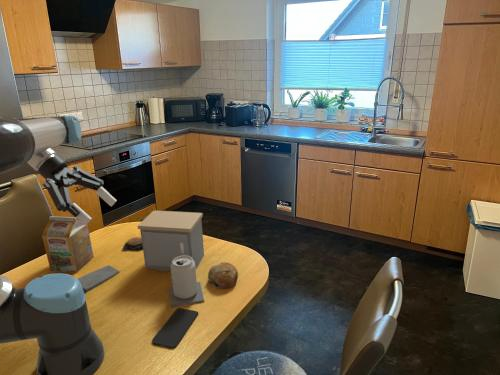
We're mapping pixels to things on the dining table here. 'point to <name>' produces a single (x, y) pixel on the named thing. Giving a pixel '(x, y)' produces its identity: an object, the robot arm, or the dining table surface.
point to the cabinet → (171, 238)
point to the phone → (175, 328)
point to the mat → (179, 302)
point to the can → (184, 277)
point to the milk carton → (67, 244)
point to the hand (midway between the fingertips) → (102, 212)
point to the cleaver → (97, 277)
